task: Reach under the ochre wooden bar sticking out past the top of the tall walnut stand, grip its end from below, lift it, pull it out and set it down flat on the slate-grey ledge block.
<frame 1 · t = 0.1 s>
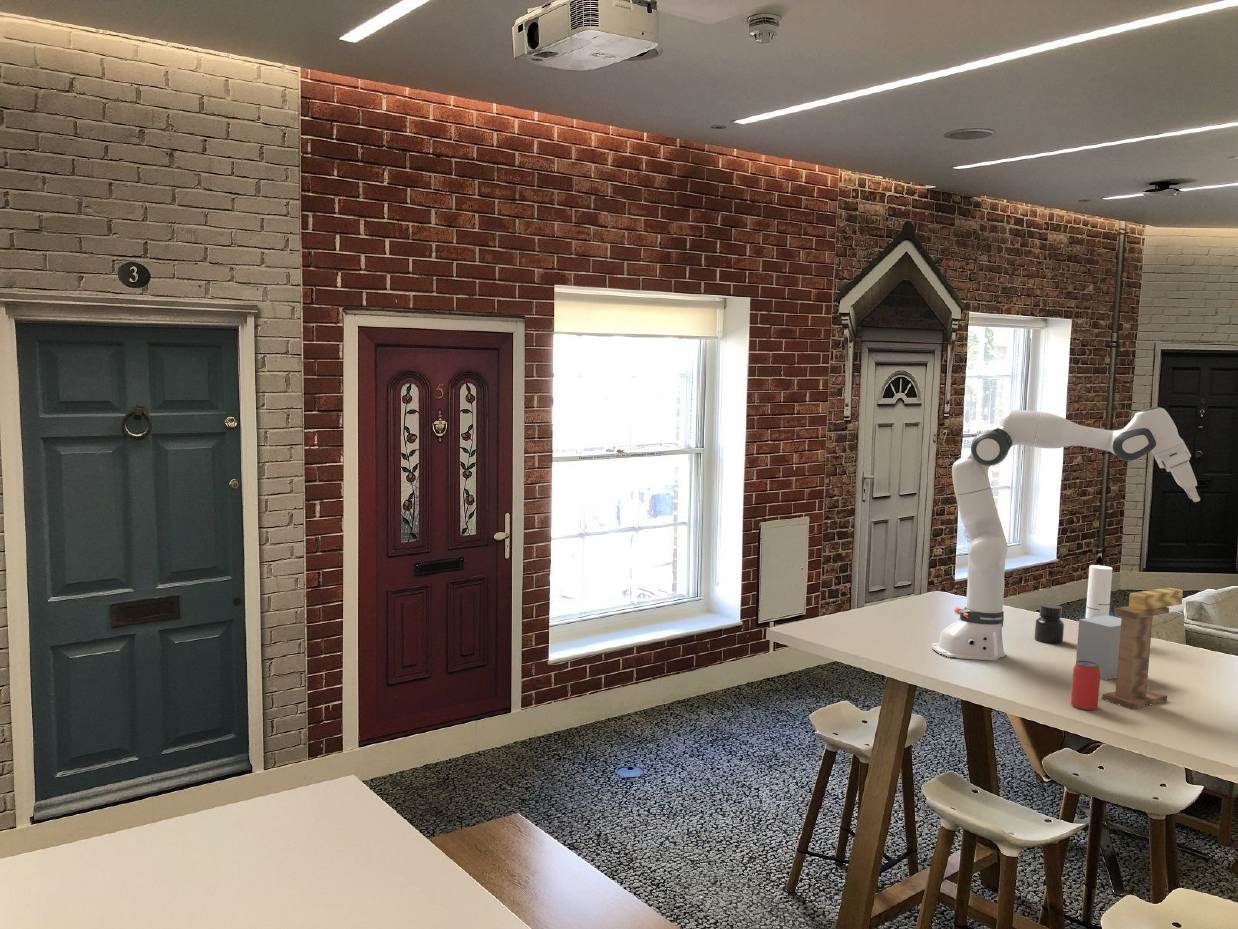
hand: (1195, 499, 288), 54 cm above the table, tool tilted 30°, fingers open, 8 cm apart
cylindrical container: (1095, 638, 339), on the table
ledge block: (1104, 672, 298), on the table
stand: (1134, 700, 271), on the table
beer can: (1083, 707, 264), on the table
ink bottle: (1048, 641, 334), on the table
bar: (1155, 605, 273), point 26 cm above the table, touching stand
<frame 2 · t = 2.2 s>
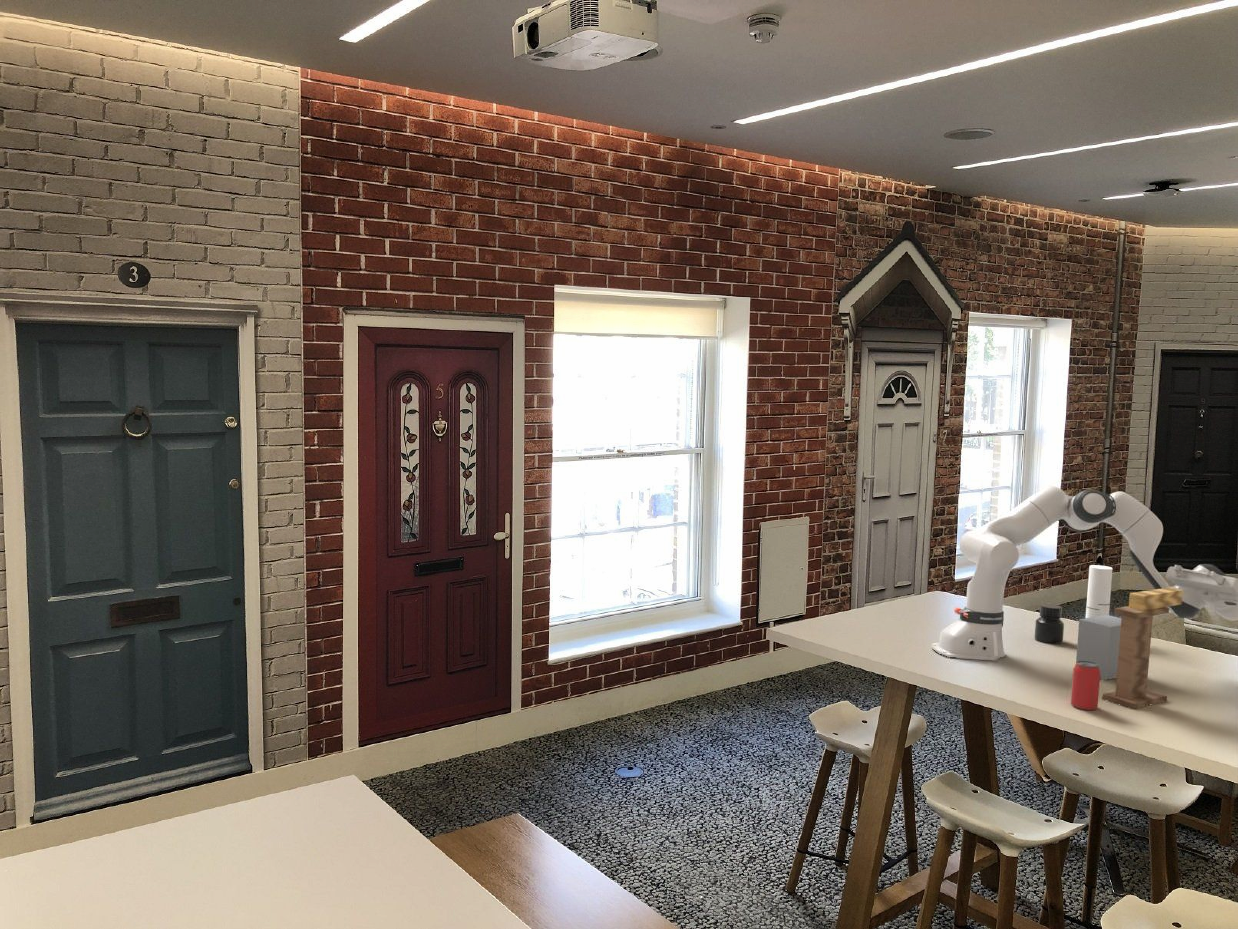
hand: (1193, 570, 281), 35 cm above the table, tool pointing upward, fingers open, 8 cm apart
nothing on the table moved.
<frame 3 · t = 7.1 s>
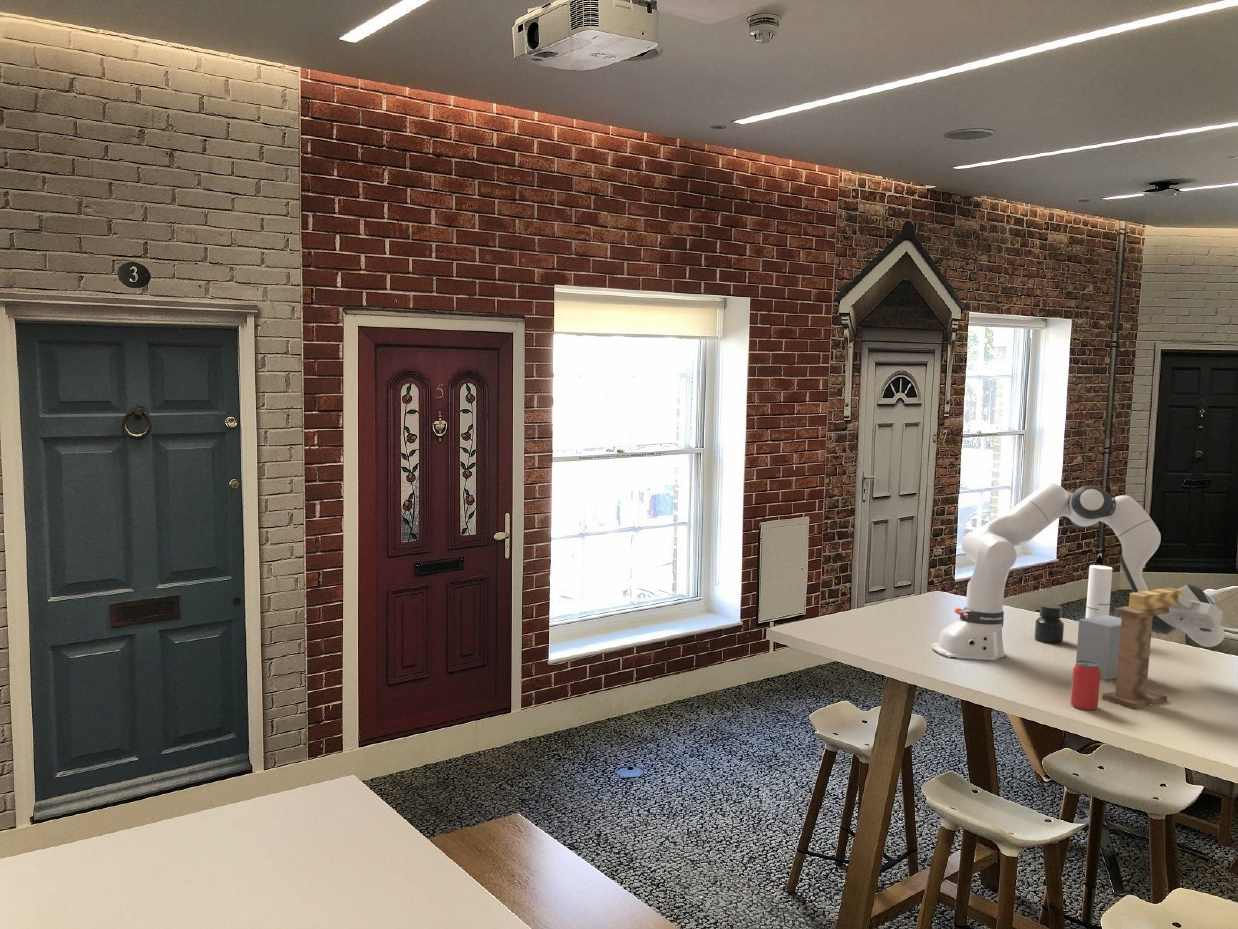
hand: (1167, 595, 275), 28 cm above the table, tool pointing upward, fingers closed on bar, 4 cm apart
bar: (1155, 605, 273), point 26 cm above the table, touching gripper, stand
everything else where it was.
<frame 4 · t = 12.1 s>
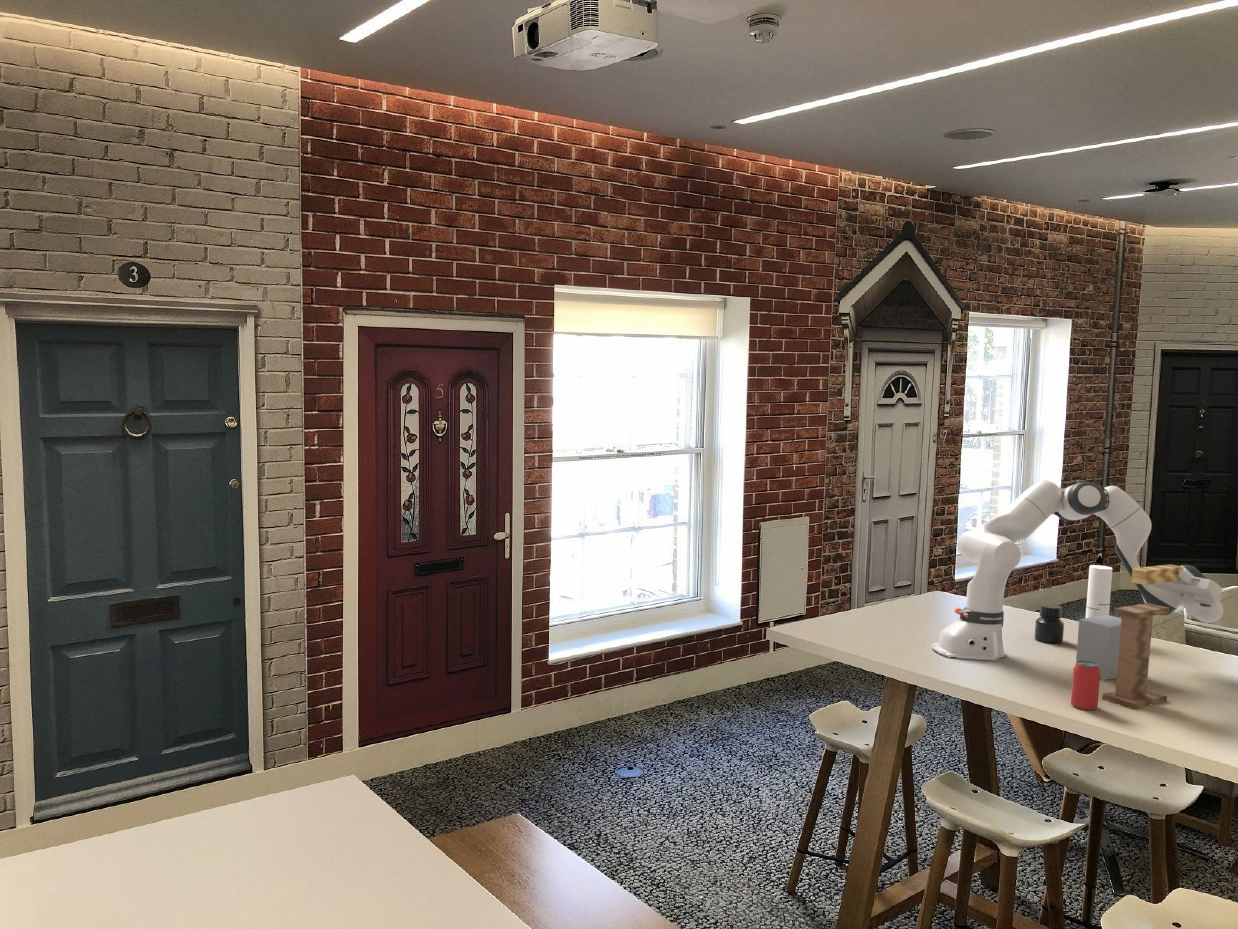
hand: (1169, 571, 287), 33 cm above the table, tool pointing upward, fingers closed on bar, 4 cm apart
bar: (1157, 581, 284), point 31 cm above the table, touching gripper
everything else where it was.
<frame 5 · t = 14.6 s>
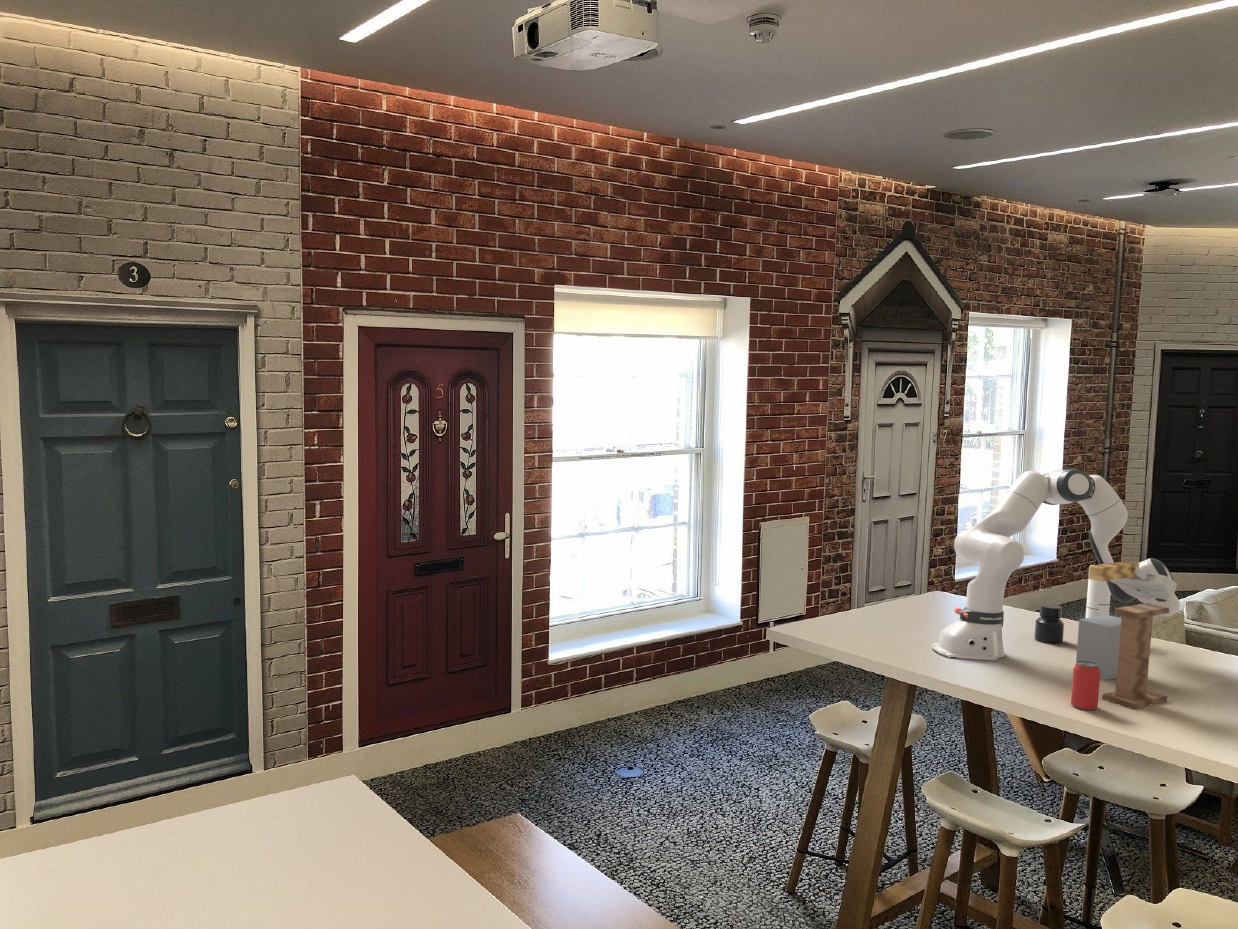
hand: (1125, 568, 298), 32 cm above the table, tool pointing upward, fingers closed on bar, 4 cm apart
bar: (1113, 577, 296), point 29 cm above the table, touching gripper
everything else where it was.
when the fingers open (21 cm above the table, at t = 17.1 s): bar drops 3 cm, resting on ledge block.
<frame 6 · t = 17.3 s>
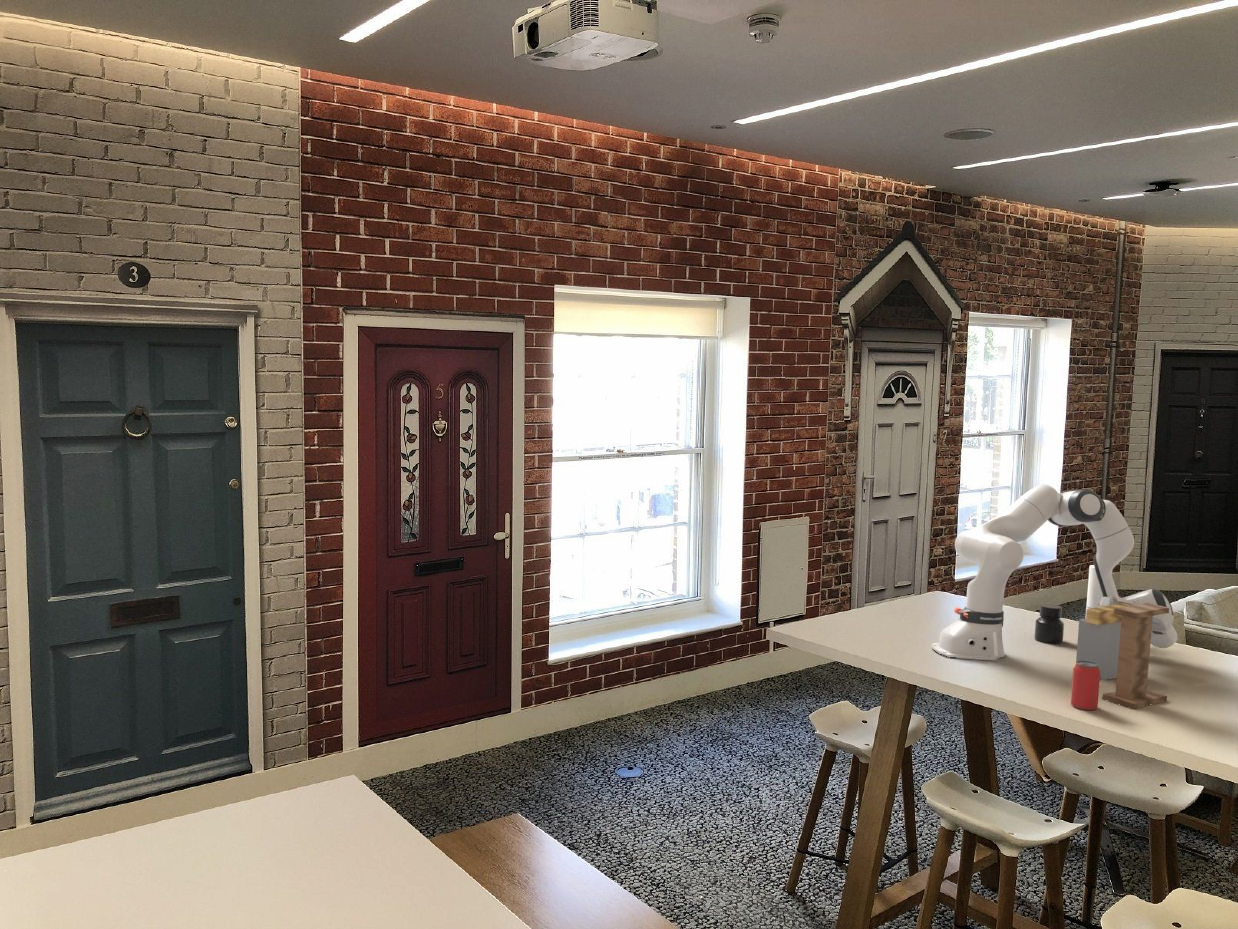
hand: (1123, 601, 299), 21 cm above the table, tool pointing upward, fingers open, 6 cm apart
bar: (1110, 620, 297), point 16 cm above the table, touching ledge block
everything else where it was.
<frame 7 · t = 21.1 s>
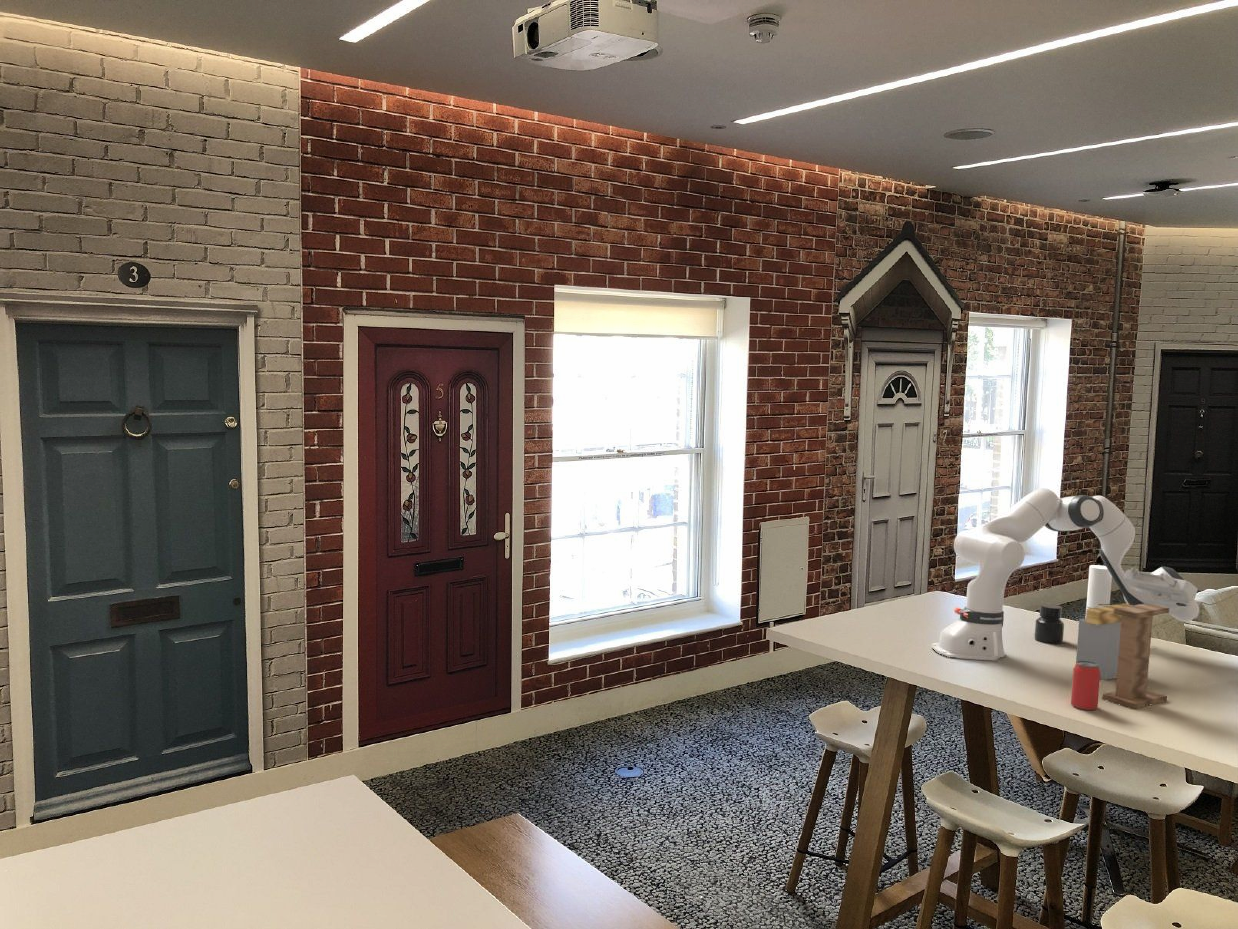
hand: (1147, 572, 305), 29 cm above the table, tool pointing upward, fingers open, 8 cm apart
nothing on the table moved.
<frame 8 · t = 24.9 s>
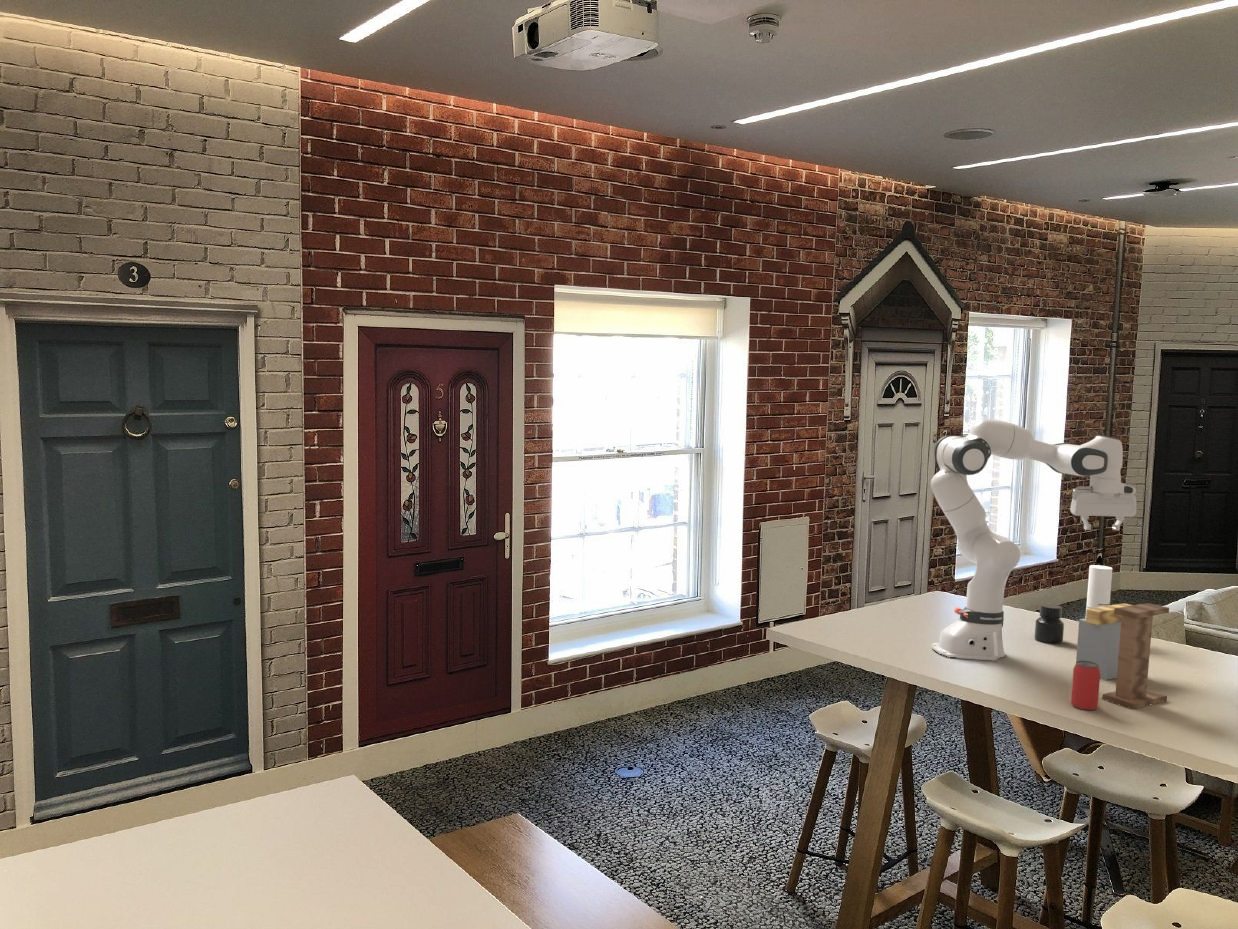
hand: (1101, 529, 313), 41 cm above the table, tool pointing down, fingers open, 8 cm apart
nothing on the table moved.
at the end: bar inside the target area on the ledge block (0.0 cm from its centre), point 16.0 cm above the ledge block's base; the gripper is holding nothing; bar tilted 0° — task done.
